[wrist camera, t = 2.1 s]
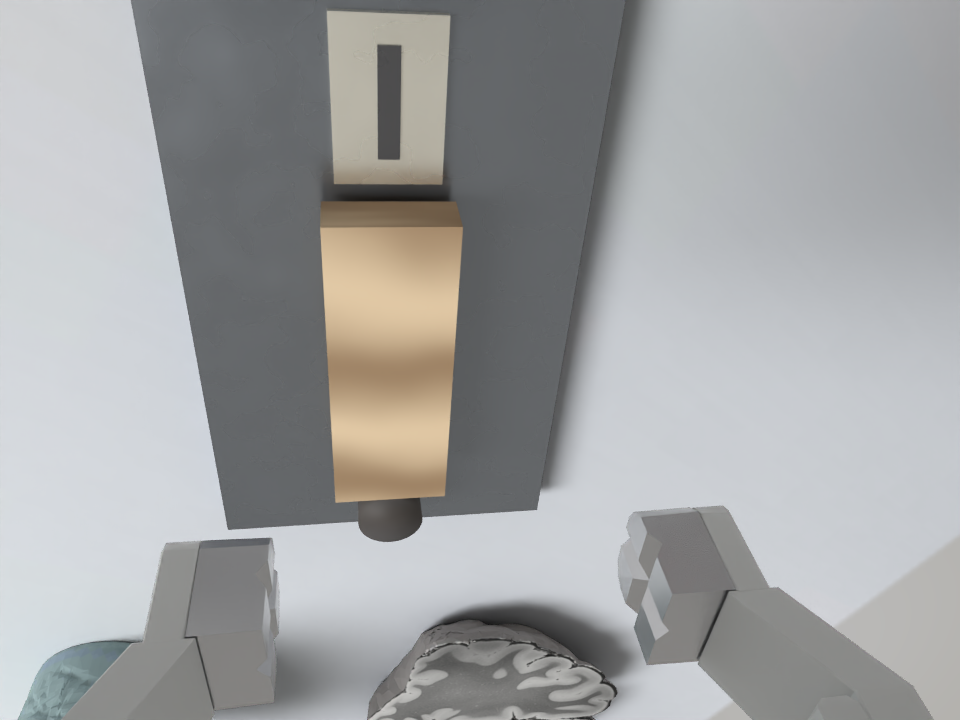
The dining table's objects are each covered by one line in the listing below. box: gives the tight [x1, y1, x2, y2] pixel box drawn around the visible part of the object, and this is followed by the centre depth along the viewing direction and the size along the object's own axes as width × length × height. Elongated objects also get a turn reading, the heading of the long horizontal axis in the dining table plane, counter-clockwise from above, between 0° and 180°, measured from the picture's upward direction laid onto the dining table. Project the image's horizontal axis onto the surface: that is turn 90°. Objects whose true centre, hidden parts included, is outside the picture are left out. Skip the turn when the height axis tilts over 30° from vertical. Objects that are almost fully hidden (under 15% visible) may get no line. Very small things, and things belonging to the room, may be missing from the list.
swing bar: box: [320, 201, 463, 542], centre depth 34 cm, size 17×5×2 cm, turn 176°
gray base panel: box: [131, 0, 626, 530], centre depth 33 cm, size 28×16×2 cm, turn 176°
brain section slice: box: [367, 619, 617, 720], centre depth 55 cm, size 20×17×3 cm
